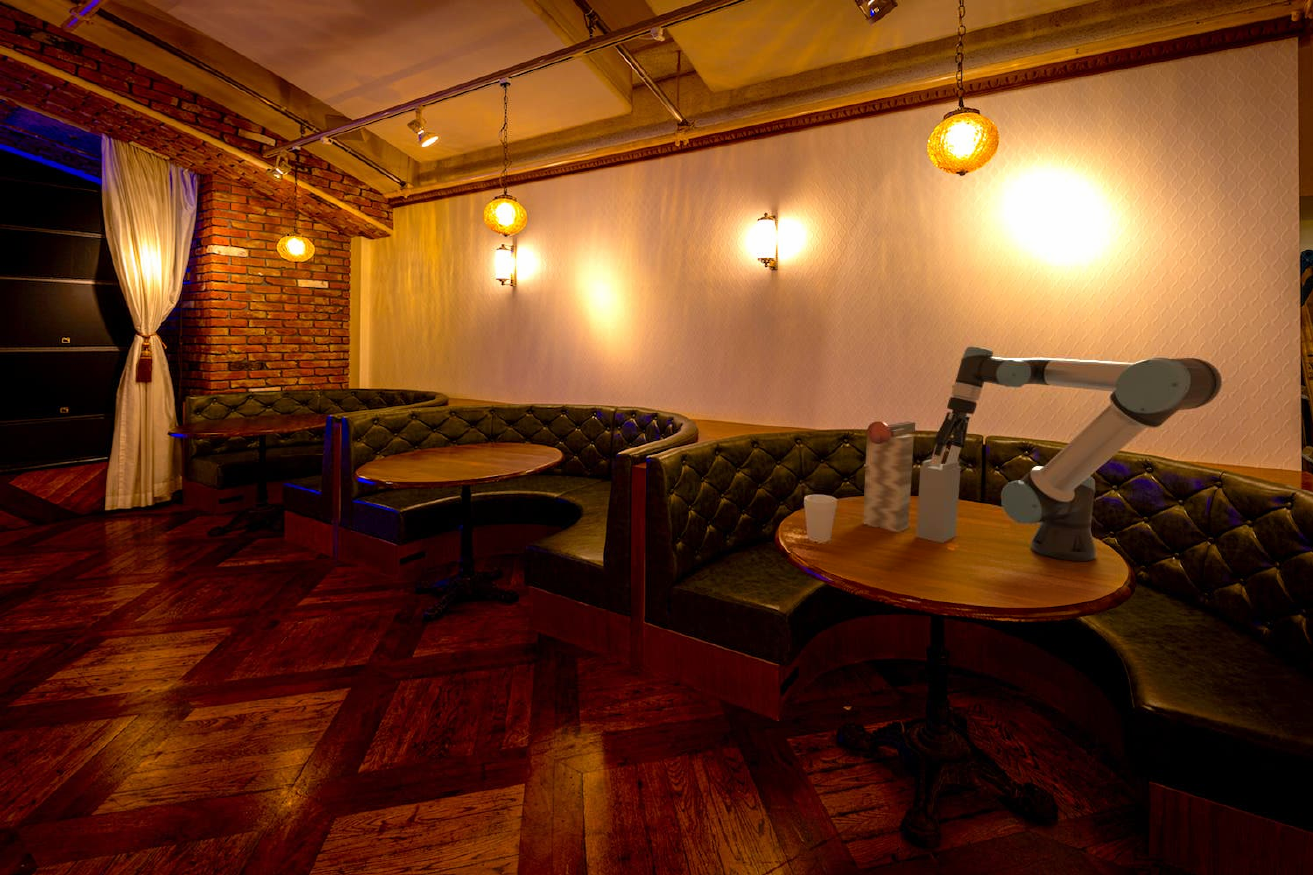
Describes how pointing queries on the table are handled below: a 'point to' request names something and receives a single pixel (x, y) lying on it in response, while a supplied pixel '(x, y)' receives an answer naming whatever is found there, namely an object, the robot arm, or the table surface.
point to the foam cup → (819, 516)
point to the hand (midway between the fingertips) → (942, 466)
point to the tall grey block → (938, 501)
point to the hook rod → (886, 430)
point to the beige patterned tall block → (888, 482)
